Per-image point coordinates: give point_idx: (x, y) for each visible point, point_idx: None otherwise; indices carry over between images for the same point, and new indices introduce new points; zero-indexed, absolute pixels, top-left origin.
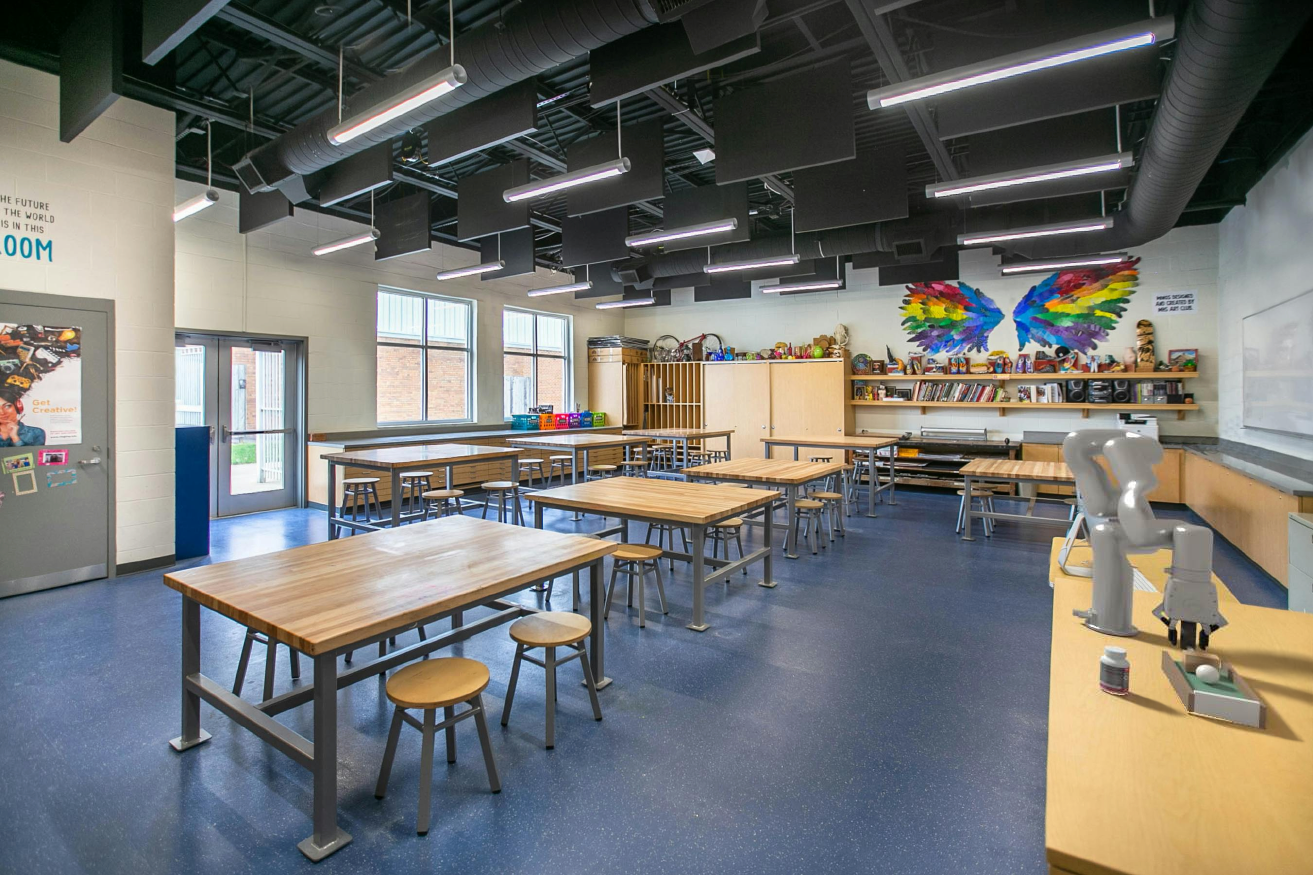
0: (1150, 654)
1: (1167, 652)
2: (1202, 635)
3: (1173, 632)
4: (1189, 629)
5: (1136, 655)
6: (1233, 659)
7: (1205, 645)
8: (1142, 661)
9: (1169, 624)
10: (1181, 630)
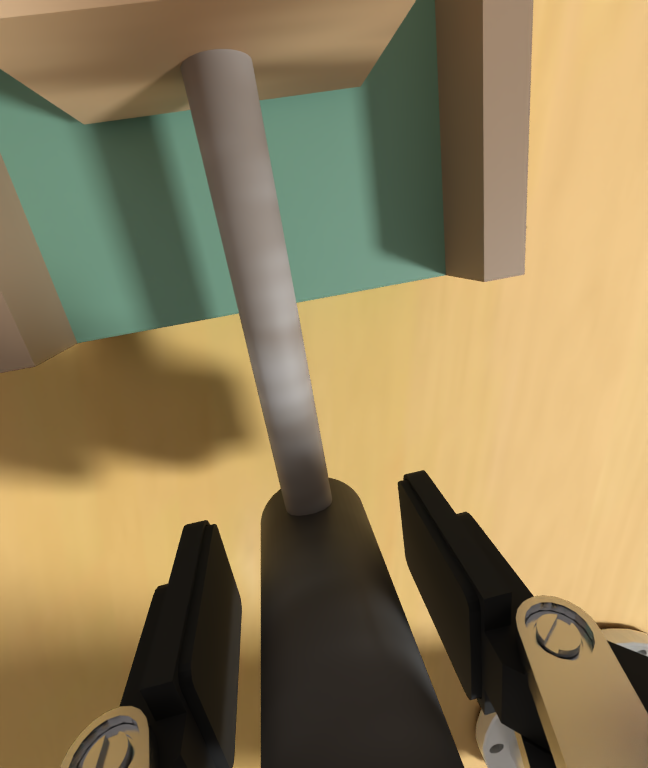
0: (464, 484)
1: (487, 241)
2: (189, 666)
3: (489, 577)
4: (351, 689)
5: (538, 412)
6: (100, 695)
7: (177, 556)
8: (527, 322)
9: (613, 671)
10: (420, 655)
